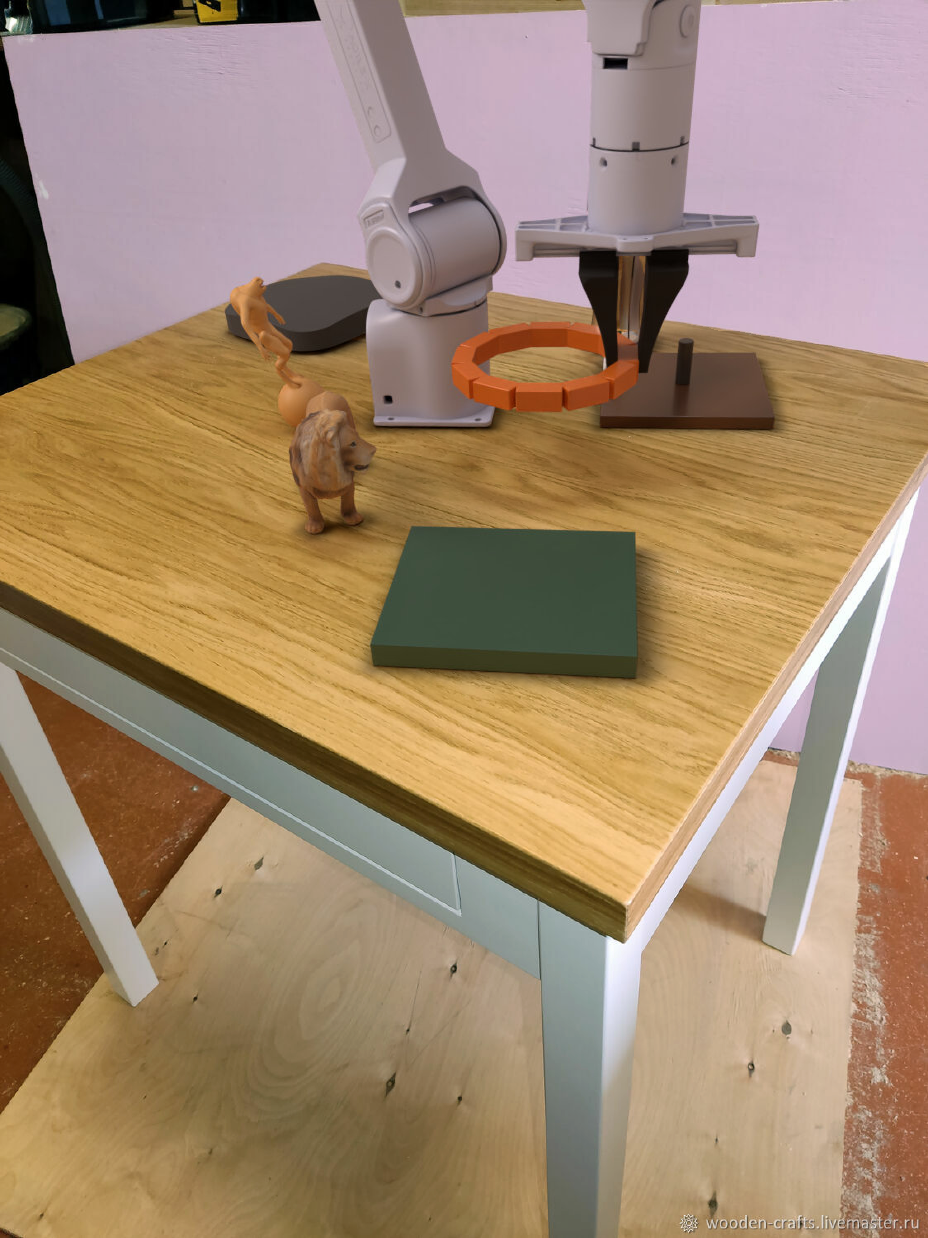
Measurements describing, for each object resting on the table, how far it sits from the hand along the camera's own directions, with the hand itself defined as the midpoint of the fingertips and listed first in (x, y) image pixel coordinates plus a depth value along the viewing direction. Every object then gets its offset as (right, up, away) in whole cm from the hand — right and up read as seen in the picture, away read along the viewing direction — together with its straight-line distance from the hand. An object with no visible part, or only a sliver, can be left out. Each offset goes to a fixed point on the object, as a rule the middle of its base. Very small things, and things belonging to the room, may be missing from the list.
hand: (626, 367), depth 61 cm
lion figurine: (-19, -9, +2) cm, 22 cm away
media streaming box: (-26, +13, +32) cm, 44 cm away
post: (+7, +2, +14) cm, 15 cm away
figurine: (-25, -1, +13) cm, 28 cm away
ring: (-5, 0, +1) cm, 6 cm away
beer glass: (+4, +8, +23) cm, 25 cm away
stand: (-8, -16, -8) cm, 20 cm away
